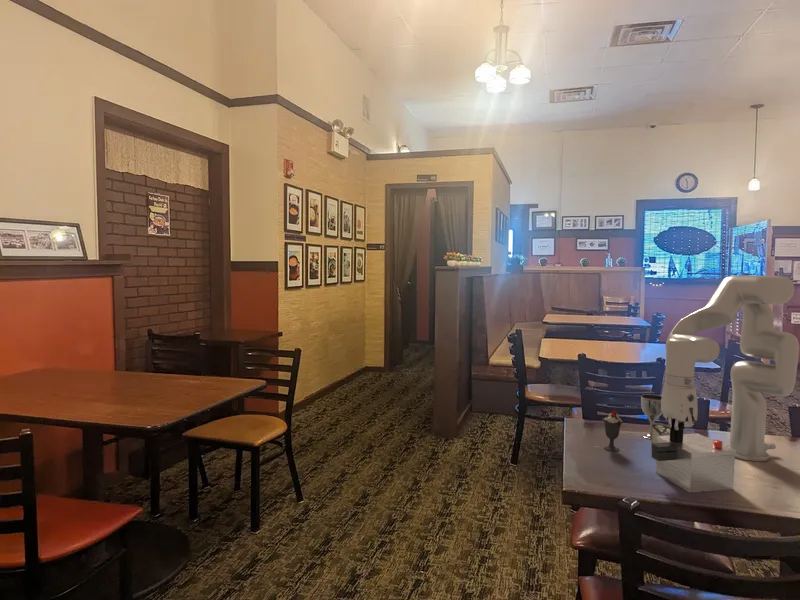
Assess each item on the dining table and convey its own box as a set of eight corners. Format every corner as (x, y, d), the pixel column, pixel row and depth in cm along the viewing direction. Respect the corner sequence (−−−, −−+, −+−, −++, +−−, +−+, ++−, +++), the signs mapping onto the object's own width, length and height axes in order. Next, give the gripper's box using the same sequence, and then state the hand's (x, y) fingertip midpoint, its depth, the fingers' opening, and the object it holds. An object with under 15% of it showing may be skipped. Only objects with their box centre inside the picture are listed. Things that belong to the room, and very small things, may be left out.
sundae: (611, 453, 173) (613, 409, 172) (596, 447, 179) (598, 404, 178) (626, 451, 176) (628, 407, 175) (611, 444, 182) (613, 402, 181)
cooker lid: (697, 437, 160) (697, 427, 160) (735, 454, 146) (736, 444, 146) (638, 441, 157) (639, 431, 156) (672, 459, 142) (673, 448, 142)
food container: (681, 466, 164) (683, 435, 163) (660, 464, 165) (662, 433, 164) (669, 452, 176) (671, 423, 175) (650, 450, 177) (651, 421, 176)
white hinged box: (696, 469, 161) (697, 437, 160) (732, 489, 147) (735, 454, 147) (638, 473, 157) (639, 441, 156) (670, 494, 144) (672, 459, 143)
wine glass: (667, 440, 187) (669, 399, 185) (645, 440, 187) (647, 399, 185) (656, 433, 194) (658, 394, 193) (635, 433, 195) (637, 393, 193)
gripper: (710, 386, 145) (706, 450, 146) (672, 374, 160) (669, 432, 161) (686, 387, 143) (683, 451, 145) (650, 375, 158) (648, 434, 160)
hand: (676, 441), depth 153 cm, fingers closed
